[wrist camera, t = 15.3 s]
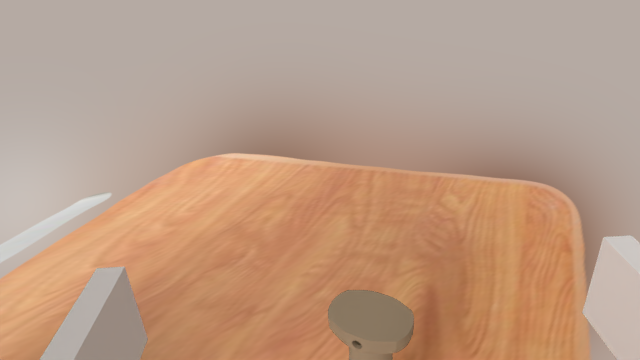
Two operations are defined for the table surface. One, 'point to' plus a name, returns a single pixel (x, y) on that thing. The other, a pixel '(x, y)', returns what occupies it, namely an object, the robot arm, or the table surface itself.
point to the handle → (370, 324)
